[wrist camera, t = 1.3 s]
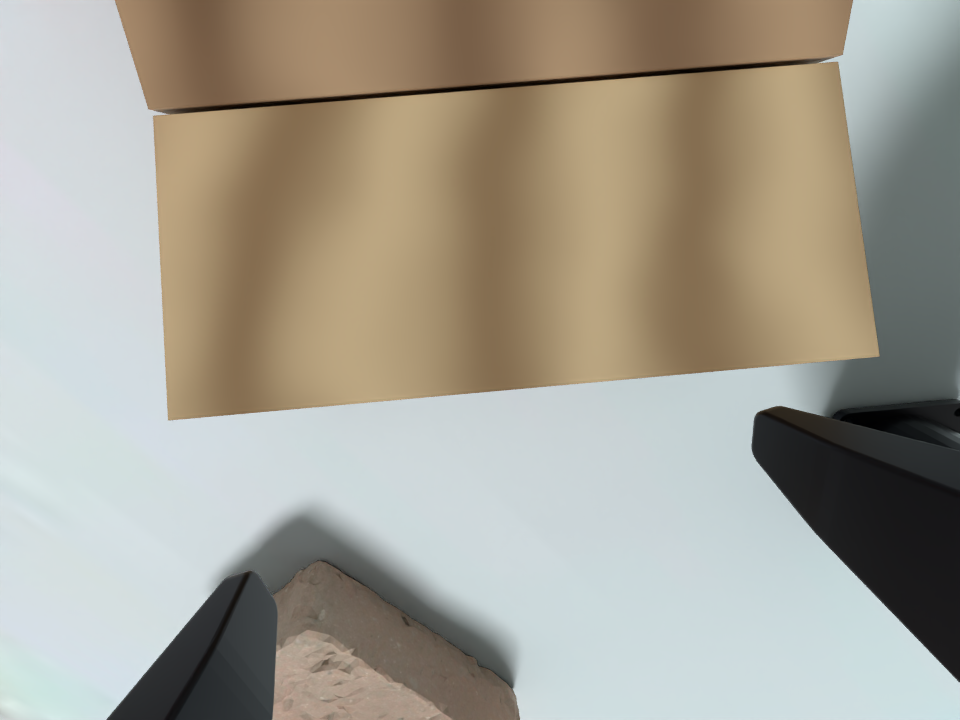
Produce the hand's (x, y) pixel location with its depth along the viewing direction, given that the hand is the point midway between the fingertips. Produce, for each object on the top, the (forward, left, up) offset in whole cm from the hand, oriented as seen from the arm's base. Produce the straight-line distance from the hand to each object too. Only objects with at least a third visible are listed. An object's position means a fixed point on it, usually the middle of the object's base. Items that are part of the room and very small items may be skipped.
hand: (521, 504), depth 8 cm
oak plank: (-1, -3, -9) cm, 10 cm away
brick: (+8, +22, -13) cm, 26 cm away
